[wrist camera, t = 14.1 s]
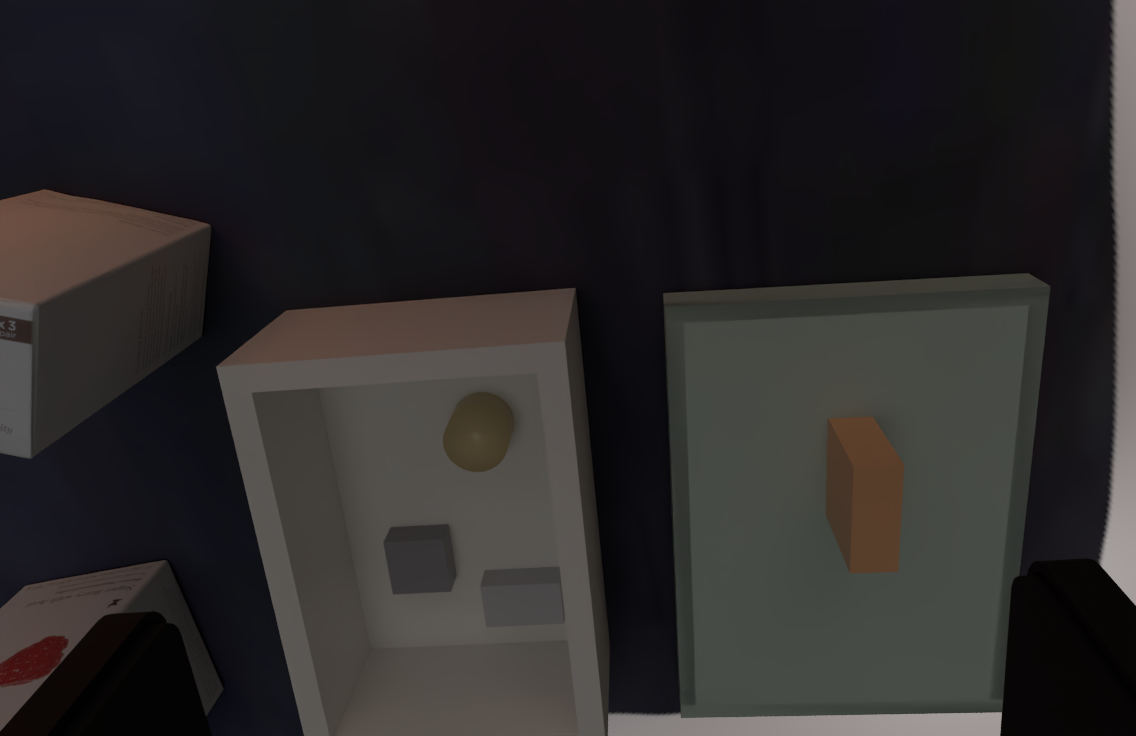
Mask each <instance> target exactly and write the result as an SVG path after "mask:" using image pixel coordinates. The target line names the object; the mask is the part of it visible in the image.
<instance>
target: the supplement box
mask: <svg viewBox="0 0 1136 736" xmlns="http://www.w3.org/2000/svg"><path fill="white" fill-rule="evenodd" d="M150 611H155V612H158V613H161V614H162V616H163V617H164V618H165V619H166V621H167V623H172V624H175V625H176V626H177V627H178V628H179V630H180V632H181V635H182V638H183V642H184V645H185V648H186V651H187V655H188V658H189V661H190V665H191V668H192V671H193V675H194V678H195V681H196V685H197V688H198V691H199V695H200V698H201V701H202V705H203V708H204V711H205V715H206V716H207V714H208V713H209V711H210V710H211V708H212V707H213V705H214V703H215V702H216V700H217V699H218V697H219V696H220V694H221V693H222V691H223V689H224V688H223V686H222V684H221V681H220V679H219V677H218V674H217V672H216V670H215V668H214V665H213V663H212V661H211V659H210V656H209V654H208V652H207V649H206V647H205V645H204V642H203V640H202V638H201V636H200V633H199V631H198V629H197V626H196V624H195V622H194V620H193V617H192V615H191V613H190V610H189V608H188V606H187V603H186V601H185V599H184V597H183V594H182V592H181V590H180V588H179V585H178V583H177V581H176V579H175V576H174V574H173V572H172V569H171V567H170V565H169V563H168V561H166V560H162V561H156V562H151V563H145V564H139V565H134V566H129V567H123V568H118V569H112V570H107V571H101V572H96V573H91V574H85V575H80V576H74V577H68V578H63V579H58V580H52V581H47V582H42V583H37V584H32V585H27V586H25V587H24V588H23V589H22V590H20V591H19V592H18V593H17V594H16V595H15V596H14V597H13V598H12V599H11V600H9V601H8V602H7V603H6V604H5V605H4V606H3V607H2V608H0V731H1V730H2V729H3V727H4V726H5V725H6V724H7V723H8V722H9V721H10V720H11V718H12V717H13V716H14V715H15V714H16V713H17V712H18V711H19V709H20V708H21V707H22V706H23V705H24V704H25V703H26V701H27V700H28V699H29V698H30V697H31V696H32V695H33V694H34V692H35V691H36V690H37V689H38V688H39V687H40V686H41V684H42V683H43V682H44V681H45V680H46V679H47V678H48V677H49V675H50V674H51V673H52V672H53V671H54V670H55V669H56V668H57V666H58V665H59V664H60V663H61V662H62V661H63V660H64V658H65V657H66V656H67V655H68V654H69V653H70V652H71V651H72V649H73V648H74V647H75V646H76V645H77V644H78V643H79V642H80V640H81V639H82V638H83V637H84V636H85V635H86V634H87V632H88V631H89V630H90V629H91V628H92V627H93V626H94V625H95V623H96V622H97V621H98V620H99V619H101V618H102V617H103V616H104V615H108V614H115V613H133V612H150Z"/></svg>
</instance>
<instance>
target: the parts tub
mask: <svg viewBox="0 0 1136 736" xmlns="http://www.w3.org/2000/svg"><path fill="white" fill-rule="evenodd" d="M216 368H217V372H218V377H219V381H220V385H221V389H222V393H223V398H224V402H225V406H226V410H227V414H228V419H229V423H230V427H231V431H232V435H233V439H234V444H235V448H236V452H237V456H238V460H239V465H240V469H241V473H242V477H243V481H244V486H245V490H246V494H247V498H248V502H249V506H250V511H251V515H252V519H253V523H254V527H255V532H256V536H257V540H258V544H259V548H260V553H261V557H262V561H263V565H264V569H265V573H266V578H267V582H268V586H269V590H270V594H271V599H272V603H273V607H274V611H275V615H276V620H277V624H278V628H279V632H280V636H281V640H282V645H283V649H284V653H285V657H286V661H287V666H288V670H289V674H290V678H291V682H292V686H293V691H294V695H295V699H296V703H297V707H298V712H299V716H300V720H301V724H302V728H303V733H304V736H608V734H607V733H608V700H609V663H610V641H609V631H608V620H607V610H606V599H605V589H604V578H603V568H602V558H601V547H600V537H599V526H598V516H597V506H596V495H595V485H594V474H593V464H592V454H591V443H590V433H589V422H588V412H587V401H586V391H585V381H584V370H583V360H582V349H581V339H580V329H579V318H578V308H577V297H576V288H568V289H555V290H542V291H529V292H516V293H503V294H491V295H478V296H465V297H452V298H439V299H427V300H414V301H401V302H388V303H375V304H362V305H350V306H337V307H324V308H311V309H298V310H286V311H285V312H284V313H282V314H281V315H280V316H279V317H277V318H276V319H275V320H274V321H272V322H271V323H270V324H269V325H267V326H266V327H265V328H264V329H263V330H261V331H260V332H259V333H258V334H256V335H255V336H254V337H253V338H251V339H250V340H249V341H248V342H246V343H245V344H244V345H243V346H241V347H240V348H239V349H238V350H236V351H235V352H234V353H233V354H231V355H230V356H229V357H228V358H226V359H225V360H224V361H223V362H221V363H220V364H219V365H218V366H216Z"/></svg>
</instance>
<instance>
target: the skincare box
mask: <svg viewBox="0 0 1136 736" xmlns="http://www.w3.org/2000/svg"><path fill="white" fill-rule="evenodd" d="M210 239H211V225H209V224H206V223H202V222H199V221H195V220H190V219H185V218H181V217H176V216H171V215H166V214H162V213H157V212H153V211H148V210H144V209H139V208H134V207H129V206H125V205H120V204H115V203H110V202H105V201H101V200H95V199H89V198H82V197H75V196H70V195H66V194H62V193H58V192H54V191H50V190H41V191H37V192H33V193H29V194H25V195H21V196H17V197H12V198H8V199H4V200H0V453H4V454H9V455H14V456H19V457H24V458H30V459H31V458H32V457H34V456H35V455H36V454H38V453H39V452H40V451H42V450H43V449H45V448H46V447H47V446H49V445H50V444H52V443H53V442H55V441H56V440H57V439H59V438H60V437H62V436H63V435H64V434H66V433H67V432H69V431H70V430H71V429H73V428H74V427H75V426H77V425H78V424H79V423H81V422H82V421H84V420H85V419H86V418H88V417H89V416H91V415H92V414H93V413H95V412H96V411H98V410H99V409H101V408H102V407H104V406H105V405H107V404H108V403H109V402H111V401H112V400H114V399H115V398H116V397H118V396H119V395H121V394H122V393H123V392H125V391H126V390H127V389H129V388H130V387H132V386H133V385H135V384H136V383H137V382H139V381H140V380H142V379H143V378H145V377H146V376H147V375H149V374H150V373H151V372H153V371H154V370H156V369H157V368H159V367H160V366H162V365H163V364H164V363H166V362H167V361H168V360H170V359H171V358H173V357H174V356H175V355H177V354H178V353H180V352H181V351H183V350H184V349H185V348H187V347H188V346H190V345H191V344H192V343H194V342H195V341H197V340H198V339H199V338H201V336H202V330H203V320H204V308H205V296H206V285H207V273H208V262H209V250H210Z"/></svg>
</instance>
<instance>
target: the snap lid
mask: <svg viewBox="0 0 1136 736" xmlns="http://www.w3.org/2000/svg"><path fill="white" fill-rule="evenodd" d="M1049 293H1050V286H1049V285H1047V284H1046V283H1044V282H1042V281H1040V280H1039V279H1037V278H1035V277H1034V276H1032V275H1030V274H1029V273H1023V274H1004V275H986V276H968V277H950V278H932V279H913V280H895V281H877V282H859V283H841V284H822V285H804V286H786V287H768V288H750V289H731V290H713V291H695V292H677V293H663V303H664V328H665V354H666V379H667V404H668V430H669V455H670V480H671V506H672V531H673V556H674V582H675V607H676V632H677V658H678V683H679V698H680V711H681V718H691V717H692V718H693V717H694V718H696V717H753V716H803V715H804V716H808V715H809V716H811V715H862V714H863V715H865V714H866V715H867V714H925V713H978V712H979V713H982V712H1002V707H1003V693H1004V680H1005V666H1006V652H1007V639H1008V625H1009V611H1010V598H1011V587H1012V582H1013V580H1014V578H1016V577H1017V576H1019V573H1020V564H1021V554H1022V545H1023V536H1024V526H1025V517H1026V508H1027V498H1028V489H1029V480H1030V470H1031V461H1032V452H1033V442H1034V433H1035V424H1036V414H1037V405H1038V396H1039V386H1040V377H1041V368H1042V358H1043V349H1044V340H1045V330H1046V321H1047V312H1048V302H1049Z"/></svg>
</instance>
